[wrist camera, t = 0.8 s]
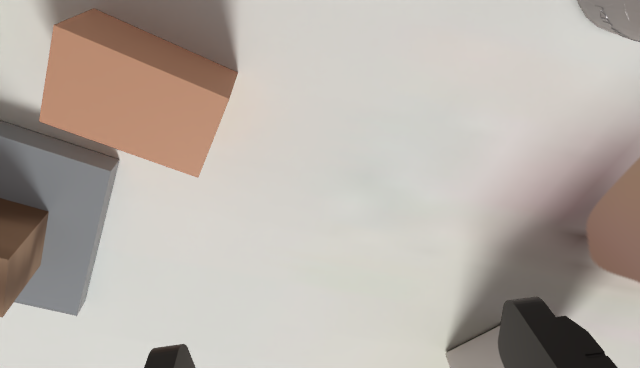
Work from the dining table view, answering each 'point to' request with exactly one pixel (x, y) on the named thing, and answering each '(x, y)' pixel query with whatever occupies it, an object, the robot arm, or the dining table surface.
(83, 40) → the terracotta brick
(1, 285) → the walnut brick
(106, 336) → the dining table surface
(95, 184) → the baseplate
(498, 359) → the milk carton
